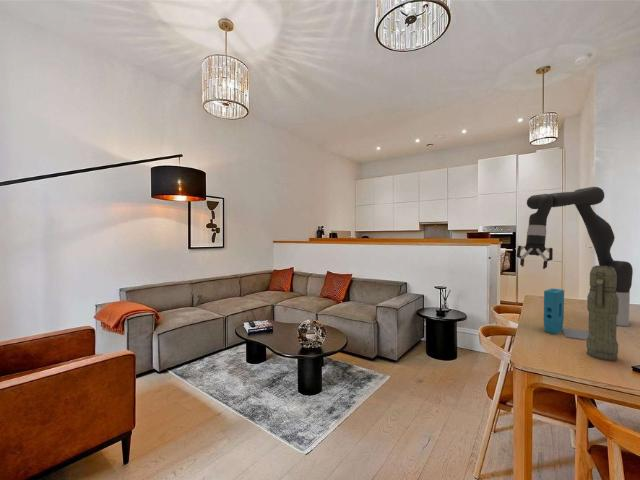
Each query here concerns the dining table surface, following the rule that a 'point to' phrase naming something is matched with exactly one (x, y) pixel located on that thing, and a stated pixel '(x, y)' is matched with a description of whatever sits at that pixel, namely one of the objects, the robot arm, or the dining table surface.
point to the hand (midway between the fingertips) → (533, 267)
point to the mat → (575, 333)
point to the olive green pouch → (602, 313)
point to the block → (553, 310)
